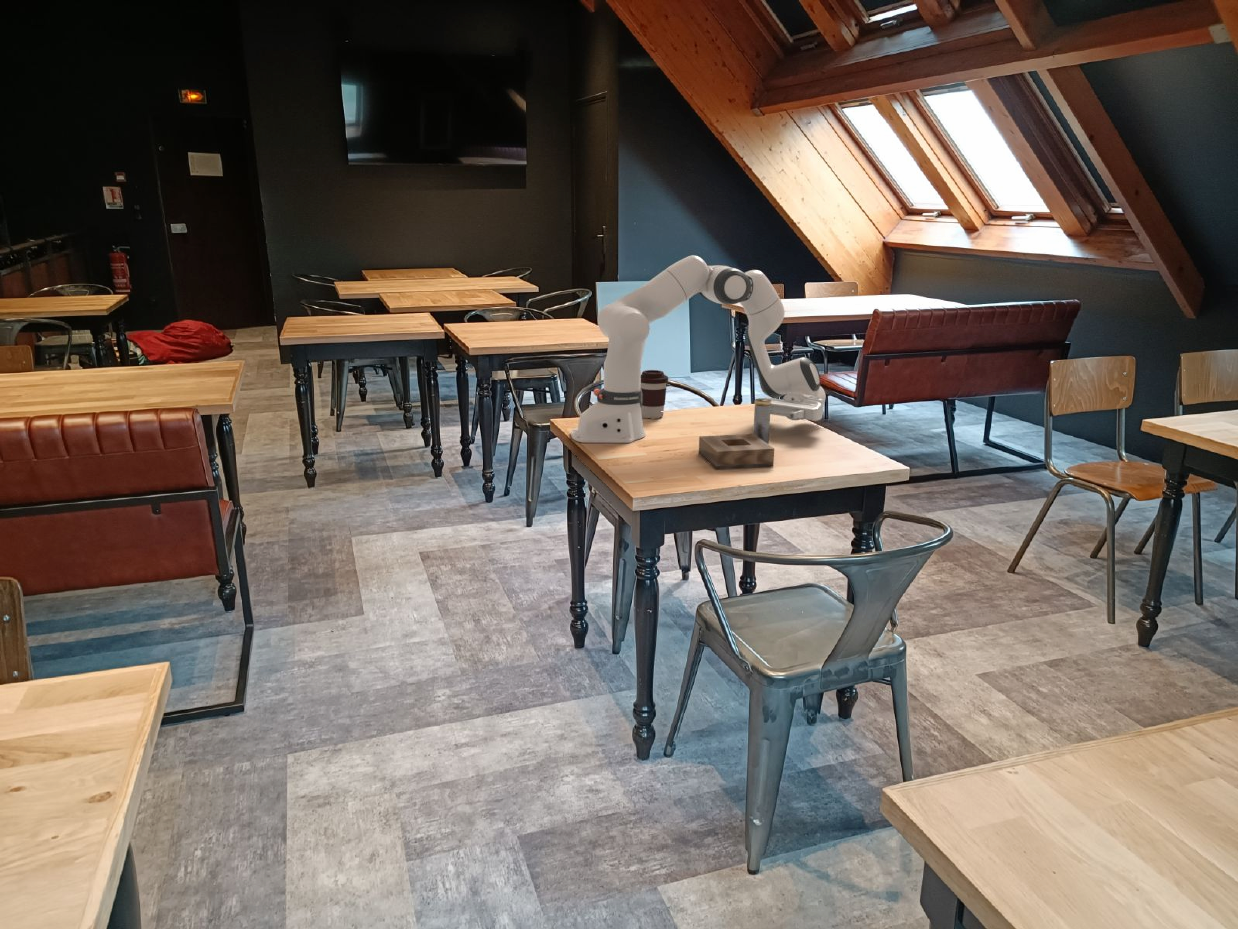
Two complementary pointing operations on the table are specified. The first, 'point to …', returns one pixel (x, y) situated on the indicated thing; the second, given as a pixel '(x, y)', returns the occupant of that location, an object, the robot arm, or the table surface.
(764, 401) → the steel rod
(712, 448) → the post block
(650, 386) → the coffee cup
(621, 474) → the table surface
